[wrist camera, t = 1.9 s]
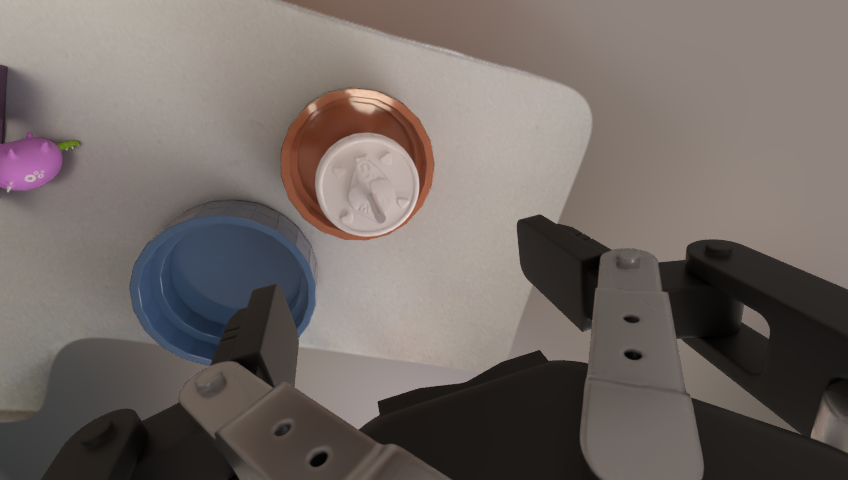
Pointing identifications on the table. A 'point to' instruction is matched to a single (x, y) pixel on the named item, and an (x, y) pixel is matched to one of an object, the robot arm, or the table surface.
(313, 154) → the terracotta bowl
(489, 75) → the table surface
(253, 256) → the blue bowl
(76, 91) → the table surface
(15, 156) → the purple framed piece
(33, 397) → the table surface
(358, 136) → the smoothie
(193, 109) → the table surface
